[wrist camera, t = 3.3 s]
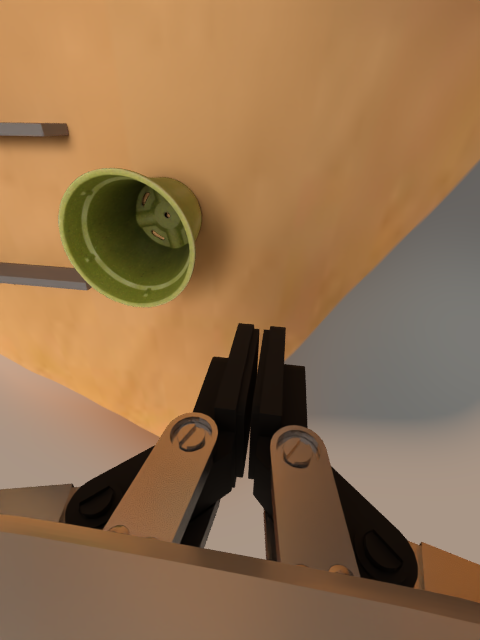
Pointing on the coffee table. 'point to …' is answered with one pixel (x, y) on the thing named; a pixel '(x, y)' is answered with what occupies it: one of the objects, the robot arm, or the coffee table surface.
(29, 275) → the bay
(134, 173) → the plant pot
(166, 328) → the coffee table surface
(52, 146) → the coffee table surface
